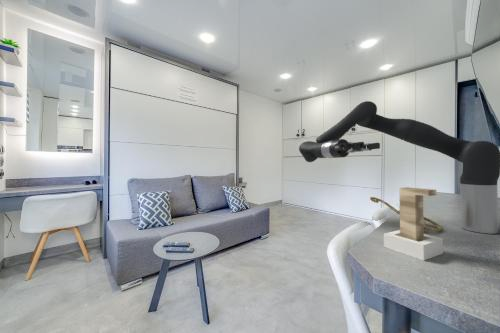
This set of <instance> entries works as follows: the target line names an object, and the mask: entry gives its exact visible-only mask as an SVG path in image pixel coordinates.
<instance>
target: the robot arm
mask: <svg viewBox="0 0 500 333" xmlns="http://www.w3.org/2000/svg"><path fill="white" fill-rule="evenodd" d="M356 125H358V126H360V127H363V128H366V129H369V130H373V131H377V132H381V133H383V134H386V135H388V136H391V137H394V138H396V139H399V140H401V141H404V142H406V143H409V144H413V145H414V146H418V147H420V148H423V149H428V150H431V151H436V152H438V153H441V154H443V155H445V156H447V157H450V158H452V159H454V160H455V161H458V162H460V163H462V172H461V175H460V177H459V187H460V188H459V193H460V194H459V196H460V199H459V200H460V203H459V204H460V228H461V229H463V230H466V231H469V232H474V233H482V234H491V235H492V234H494V235H495V234H498V233H499V217H498V216H499V209H498V207H499V204H498V201H499V200H498V199H499V196H498V180H499V178H500V148H499V147H498V146H497V144H495V143H493V142H491V141H487V140H476V141H469V140H465V139H461V138H458V137H455V136H451V135H449V134H447V133H446V132H444V131H442V130H440V129H438V128H437V127H434V126H433V125H431V124H427V123H425V122H421V121H419V120H416V119H412V118H410V119H409V118H389V117H385V116H382V115H380V114H378V106H377V105H376V103H375V102H373V101H367V100H365V101H363V102H360V103H359V104H357V105H356V106H355V107H354V108H353V109H352V110H351V111H350V112H349V113H348V114H347V115H346V116H344V117H343V118H342V119H341V120H339V121H338V122H337V123H336V124H334V125H333V126H332V127H331V128H329V129H327V131H324V132H323V133H322V134H321V135H319V136H317V137H316V139H315V141H309V140H308V141H307V140H306V141H304V142H302V143H300V145H299V146H298V149H299V150H298V151H299V153H300V154H301V155H302V157H303V159H304V160H305V162H307V163H312V162H315V161H316V160H317V159H327V158H328V159H337V158H346V157H347V156H348V155H349V154H352V153H358V152H359V153H362V152H364V151H372V150H379V149H380V148H381V143H380V142H371V143H370V142H369V143H365V142H364V141H358V142H352V141H348V140H346V139H345V138H343V137H344V135H345V134H347V133H348V131H350V130H351V129H352V128H353V127H355V126H356Z"/></svg>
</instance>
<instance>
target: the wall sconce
mask: <svg viewBox="0 0 500 333" xmlns="http://www.w3.org/2000/svg"><path fill="white" fill-rule="evenodd" d="M369 200H371V201H372V202H374V203H376V204H378V203H379V202H380V203H382V204H384V205H386V206H387V207H388V208H389V209H390V210H393V212H395V213H397V214H398V215H399V216H400V210H397V209H396V208H395V207H393V206H392V205H390V204H389V203H388V202H387V201H385V200H383V199H380V198H378V197H375V196H370V198H369ZM423 218H424V229H427V230H430V231H433V232H434V231H435V232H440V231H442V227H441V225H440V224H438V223H437V222H435V221H433V220H431V219H429V218H427V217H425V216H423ZM426 221H427V222H429V223H431V224H432V225H433V226H436V227H437V228H436V227H432V226H428V225H427V224H426V223H427V222H426Z"/></svg>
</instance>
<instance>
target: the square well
mask: <svg viewBox="0 0 500 333" xmlns="http://www.w3.org/2000/svg"><path fill="white" fill-rule="evenodd" d="M383 247H384V248H386V249H389V250H391V251H395V252H397V253H400V254H403V255H407V256H409V257H412V258H415V259H418V260H420V261H427V260H430V259H431V258H435V257H437V256H439V255H442V254H444V239H443V238H441V237H437V236H433V235H428V234H425V233H424V240H423V241H420V242H418V241H415V240H411V239H408V238H404V237H400V229H399V230H398V229H397V230H394V231H389V232H385V233H383Z"/></svg>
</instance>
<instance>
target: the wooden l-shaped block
mask: <svg viewBox="0 0 500 333" xmlns="http://www.w3.org/2000/svg"><path fill="white" fill-rule="evenodd" d="M431 196H437V189H433V188H432V189H431V188H421V187H409V186H405V187H399V212H400V215H399V230H400V237H404V238H408V239H411V240H415V241H418V242H420V241H423V240H424V234H425V232H424V230H425V228H424V218H423V217H424V197H431Z"/></svg>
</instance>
